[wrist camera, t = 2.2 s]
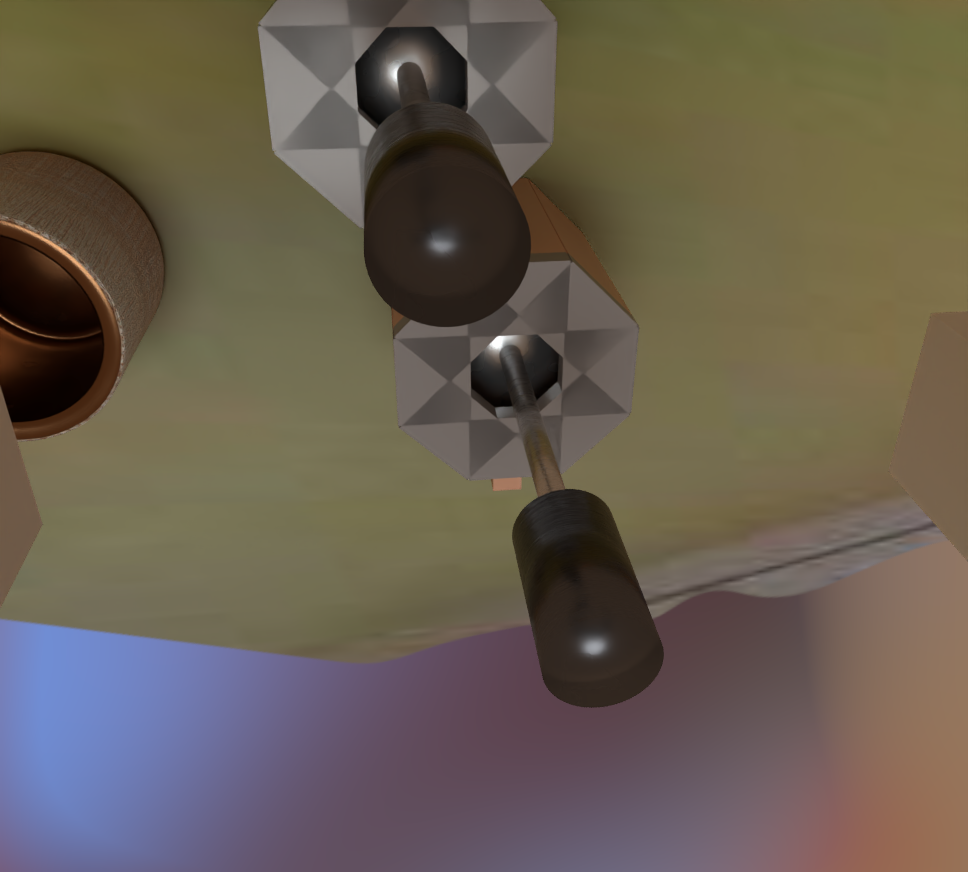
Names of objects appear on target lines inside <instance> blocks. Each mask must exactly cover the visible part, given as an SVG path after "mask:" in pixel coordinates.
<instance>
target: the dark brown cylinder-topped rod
mask: <svg viewBox="0 0 968 872" xmlns="http://www.w3.org/2000/svg"><path fill="white" fill-rule="evenodd" d="M355 67H356V82H357V96H358V107H359V108H360V109H361V110H362V111H363V112H365V113H366V114H367V115H368V116H369V117H370V118H371V119H372V120H373V121H374V122H375V123H376V124H377V125H378V126H379V127H378V128H377V129H376V131H375V132H374V134H373V136H372V138H371V140H370V142H369V145H368V147H367V151H366V155H365V163H364V257H365V264H366V268H367V271H368V275H369V277H370V279H371V281H372V284H373V285H374V287H375V289H376V290H377V292H378V293H379V295H380V296H381V297H382V298H383V300H384V301H385V302H386V303H387V304H388V305H389V306H390V307H391V308H393V309H394V310H395V311H397V312H398V313H400V314H401V315H403V316H405V317H407V318H408V319H410V320H413V321H415V322H418V323H421V324H425V325H429V326H436V327H456V326H463V325H467V324H471V323H474V322H477V321H480V320H482V319H484V318H486V317H488V316H490V315H491V314H493V313H494V312H496V311H497V310H499V309H500V308H501V307H502V306H503V305H504V304H506V303H507V302H508V301H509V299H510V298H511V297H512V296H513V295H514V294H515V292H516V291H517V289H518V288H519V286H520V285H521V283H522V281H523V279H524V277H525V274H526V271H527V269H528V265H529V261H530V254H531V236H530V230H529V225H528V222H527V219H526V216H525V214H524V212H523V210H522V208H521V205H520V203H519V201H518V199H517V197H516V195H515V193H514V191H513V188H512V186H511V184H510V182H509V180H508V178H507V176H506V173H505V171H504V169H503V167H502V165H501V163H500V161H499V159H498V156H497V154H496V152H495V150H494V148H493V146H492V144H491V142H490V139H489V137H488V135H487V134H486V132H485V131H484V129H483V128H482V127H481V125H480V124H479V123H478V122H477V121H476V120H475V119H474V118H473V117H472V116H470V115H469V114H468V113H466V112H465V111H463V110H461V108H462V107H463V106H464V105H465V58H464V57H463V56H462V55H461V54H460V53H459V52H458V51H457V50H456V49H455V48H454V47H453V46H452V45H451V44H450V43H449V42H448V41H447V40H446V39H445V38H444V37H443V36H442V34H441V33H440V32H439V31H438V30H437V29H436V28H435V27H434V26H429V27H386V28H385V29H384V30H383V31H382V33H381V34H380V35H379V36H378V37H377V38H376V40H375V41H374V42H373V43H372V44H371V45H370V46H369V48H368V49H367V50H366V51H365V52H364V53H363V55H362V56H361V57H360V58H359V59H358V60H357V62H356V63H355Z"/></svg>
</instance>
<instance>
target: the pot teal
mask: <svg viewBox="0 0 968 872" xmlns="http://www.w3.org/2000/svg"><path fill="white" fill-rule="evenodd" d="M555 19H556V17H555V16H554V15H553V14H552V13H551V12H550V11H549V9H548V8H547V7H546V6H545V5H544V4H543V3H542V2H541V0H275V1H274V3H273V4H272V5H271V7H270V8H269V10H268V11H267V12H266V14H265V15H264V17H263V18H262V19H261V21H260V22H259V25H258V32H259V40H260V49H261V57H262V66H263V74H264V82H265V91H266V99H267V108H268V116H269V125H270V133H271V141H272V150H273V151H275V152H274V154H275V155H277V156H278V157H279V158H280V159H281V160H282V161H284V162H285V163H286V164H287V165H288V166H289V167H290V168H292V169H293V170H294V171H295V172H296V173H297V174H299V175H300V176H301V177H302V178H303V179H304V180H305V181H307V182H308V183H309V184H310V185H311V186H312V187H314V188H315V189H316V190H317V191H318V192H319V193H320V194H322V195H323V196H324V197H325V198H326V199H327V200H328V201H330V202H331V203H332V204H333V205H334V206H335V207H337V208H338V209H339V210H340V211H341V212H342V213H343V214H345V215H346V216H347V217H348V218H349V219H350V220H352V221H353V222H354V223H355V224H356V225H357V226H358V227H360V228H362V227H363V228H364V163H365V155H366V151H367V147H368V145H369V142H370V140H371V138H372V136H373V134H374V132H375V131H376V129H377V128H378V127H379V126H378V125H377V124H376V123H375V122H374V121H373V120H372V119H371V118H370V117H369V116H368V115H367V114H366V113H365V112H363V111H362V110H361V109H360V108H359V107H358V96H357V82H356V67H355V63H356V62H357V60H358V59H359V58H360V57H361V56H362V55H363V53H364V52H365V51H366V50H367V49H368V48H369V46H370V45H371V44H372V43H373V42H374V41H375V40H376V38H377V37H378V36H379V35H380V34H381V33H382V31H383V30H384V29H385V28H386V27H429V26H434V27H435V28H436V29H437V30H438V31H439V32H440V33H441V34H442V36H443V37H444V38H445V39H446V40H447V41H448V42H449V43H450V44H451V45H452V46H453V47H454V48H455V49H456V50H457V51H458V52H459V53H460V54H461V55H462V56H463V57H464V58H465V105H464V106H463V107H462V108H461V110H463V111H465V112H466V113H468V114H469V115H470V116H472V117H473V118H474V119H475V120H476V121H477V122H478V123H479V124H480V125H481V127H482V128H483V129H484V131H485V132H486V134H487V135H488V137H489V139H490V142H491V144H492V146H493V148H494V150H495V152H496V154H497V156H498V159H499V161H500V163H501V165H502V167H503V169H504V171H505V173H506V176H507V178H508V180H509V182H510V184H511V186H512V185H513V184H514V183H515V182H516V181H517V180H518V179H519V178H520V177H521V176H522V175H523V174H524V173H525V172H526V171H527V170H528V169H529V168H530V167H531V166H532V165H533V164H534V163H535V162H536V161H537V160H538V159H539V158H540V157H541V156H542V155H543V154H544V153H545V152H546V151H547V150H548V149H549V148H550V146H551V143H553V127H554V99H555V72H556V45H557V21H556V20H555Z"/></svg>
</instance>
